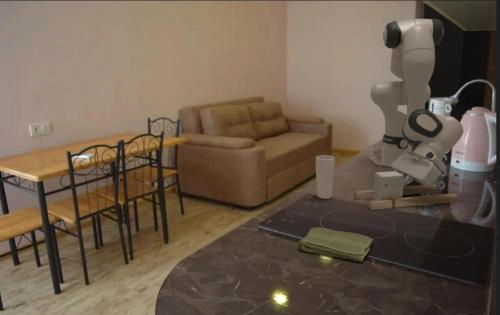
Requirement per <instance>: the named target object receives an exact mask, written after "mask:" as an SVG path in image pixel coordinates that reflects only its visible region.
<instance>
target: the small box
mask: <svg viewBox="0 0 500 315" xmlns="http://www.w3.org/2000/svg"><path fill="white" fill-rule="evenodd" d="M403 180H405V179H404V175H402V174H400V173H398V172H396V171H394V170H393V171H392V170H391V171H380V172H378V171H377V172H375V173H374V187H373V188H374V198H373V201H375V200H385V199H389V197H393V198H395V199H396V198H403V195H402V194H403Z"/></svg>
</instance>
